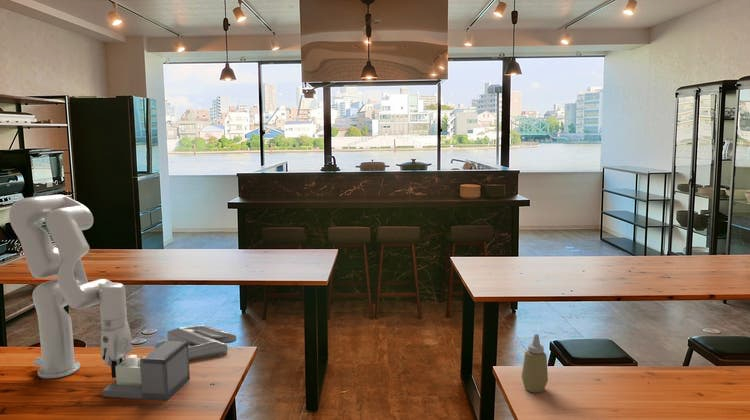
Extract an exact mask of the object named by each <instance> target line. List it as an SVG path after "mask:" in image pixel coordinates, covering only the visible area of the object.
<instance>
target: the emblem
mask: <svg viewBox="0 0 750 420" xmlns="http://www.w3.org/2000/svg"><path fill="white" fill-rule="evenodd" d="M166 334H167V340H174V341H188V353H189V361H194V360H201V359H206V358H205V357H207V358H211V357H210V356H212V357H215V356H214V355H217V356H220V355H219V354H223V355H226V354H225V353H227V354H228V351H229V350H228V345H227V344H232V343H235V342H236V341H237V336H236V335H235V334H234V333H230V332H228V331H227V332H226V331H224V330H221V329H219V328H215V327H212V326H207V325H196V326H185V327H177V328H174V329H171V330H167V333H166ZM162 344H163V341H162V342H161V341H160V342H157V343H156V344H154V350H155V349H157V348H158V347H159V346H161V345H162ZM200 358H201V359H200Z"/></svg>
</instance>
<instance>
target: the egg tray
mask: <svg viewBox="0 0 750 420" xmlns="http://www.w3.org/2000/svg"><path fill="white" fill-rule="evenodd" d="M146 356H147V355H146ZM146 356H144V357H146ZM140 358H141V357H138V355H137V354H129V355H125V357H124V361H123V362H121V363H120V364H118V365H117V366H115V369H116V378H115V381H116V383H117V385H131V386H142V385H141V370H140Z"/></svg>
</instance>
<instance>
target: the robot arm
mask: <svg viewBox="0 0 750 420" xmlns="http://www.w3.org/2000/svg"><path fill="white" fill-rule="evenodd" d="M8 219H9V222H10V225H11V228H12V230H13V231H14V233H15V234H16V236H17V238H18V240H19V242H20V244H21V248H22V251H23V254H24V255H23V256H24V258H25V261H26V264H27V267H28V270H29V272H30V275H32V277H34V278H35V279H45V278H49V277H50V278H51V277H54V276H57V278H56V279H55V278H54V279H52V280H47V281H45V282H43V283H40V284H38V285H37V286H36V287H34V289H33V291H32V301H33V304H34V307H35V311H36V315H37V322H38V330H39V332H38V333H39V341H40V342H39V343H40V351H41V356H36V357H35V359H34V361H33V363H32V365H33V366H39V369H38V370H37V376H38V377H39V378H42V379H57V378H62V377H66V376H69V375H72V374H74V373H75V372H77V371H78V370H80V368H81V363H80V361H78V360H76V359H75V348H74V337H73V336H74V334H73V325H72V324H73V323H72V318H71V315H70V314H69V313H68V312H67V311H66V309H65V308H64V307H66V306H69V307H70V308H71V309H74V310H83V309H86V308H89V307H92V306H96V305H99V315H100V327H101V332H100V354H101V355H100V356H101V359H102V360H103V361H104V366H109V367H110V369H111V378H113V379H116V369H115V366H117V365H118V364H120V363H121V362H123V361H124V360H125V357H126V356H127V355H128V354H129V353H131V352H132V350H133V341H132V334H131V328H130V325H129V322H128V317H127V316H128V315H127V313H128V312H127V299H126V287H125V285H124V284H123V283H120V282H112V281H111V280H109V279H107V278H99V279H95V280H90V281H89V280H88V276H87V275H86V271H85V267H84V264H83V261H82V258H83V257H84V256H85V255H87V254H88V253H89V251H90V249H91V248H90V245H89V243H88V242H87V240H86V237H85V236H84V233H83V231H86V230H89V229H90V228H92V226H93V224H94V216H93V213H92V212H91V210H90V209H89V208H88V207H87V206H86V205H84V204H83V203H81V202H79V201H78V200H77V201H76V200H75V199H73V198H71V197H68V196H67V195H64V194H49V195H37V196H31V197H24V198H21V199H18V200H16V201H15V202H14V203H12V204H11V205H10V208H9V213H8ZM41 222H44V224H45V226H46V228H47V230H48V231H47V230H46V229H44V228H43V227H42V226H41V225H40V224H38V223H41ZM51 238H52V239H51ZM52 240H53V242H52ZM53 243H54V244H53ZM54 245H55V246H54Z"/></svg>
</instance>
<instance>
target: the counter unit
mask: <svg viewBox="0 0 750 420" xmlns="http://www.w3.org/2000/svg"><path fill="white" fill-rule="evenodd" d="M162 342H163V344H162V345H161V346H159V347H158V348H157V349H155V348H154V350H152V351H150V353H149V354H147V355H146V357H145V356H142V357H139V358H140V370H141V385H142V386H131V385H117V383H116V380H114V381H113V382H111V383H110V384H109V385H107V386H106V387H105V388H104V389H102V397H105V398H107V397H109V398H123V399H135V400H136V399H137V400H153V401H168V400H169V399H170V398H172V396H173V395H174V394H175V393H176V392H178V391H179V390H180V389H181V388H182V387H183V386H184V385H185V384H186V383H187V382H188V381H189V380H190V379H191V377H190V376H191V375H190V360H189V353H188V341H174V340H168V339H164V340H163V341H162Z"/></svg>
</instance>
